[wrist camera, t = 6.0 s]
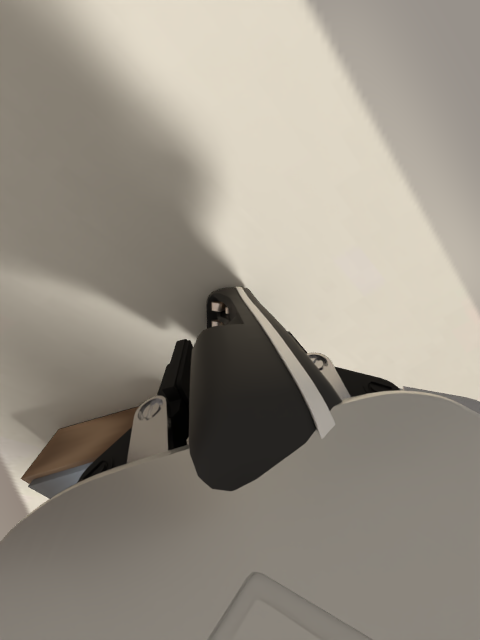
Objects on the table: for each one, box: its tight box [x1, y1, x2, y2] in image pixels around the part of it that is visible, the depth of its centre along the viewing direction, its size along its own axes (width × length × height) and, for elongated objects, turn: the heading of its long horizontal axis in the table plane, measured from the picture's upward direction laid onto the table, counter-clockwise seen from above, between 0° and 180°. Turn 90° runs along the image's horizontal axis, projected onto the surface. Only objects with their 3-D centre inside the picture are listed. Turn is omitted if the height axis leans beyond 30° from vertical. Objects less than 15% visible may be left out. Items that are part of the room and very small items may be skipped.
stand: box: [21, 407, 139, 499], centre depth 18 cm, size 12×16×4 cm
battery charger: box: [189, 287, 342, 491], centre depth 9 cm, size 7×4×11 cm, turn 176°
